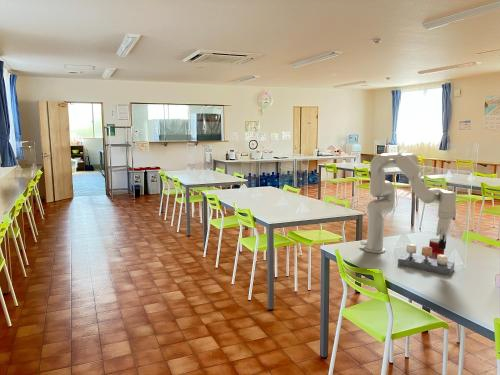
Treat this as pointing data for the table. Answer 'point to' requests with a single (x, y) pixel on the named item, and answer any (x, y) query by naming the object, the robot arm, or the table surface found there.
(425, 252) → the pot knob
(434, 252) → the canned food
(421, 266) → the console
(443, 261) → the knob
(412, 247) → the knob
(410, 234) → the table surface
